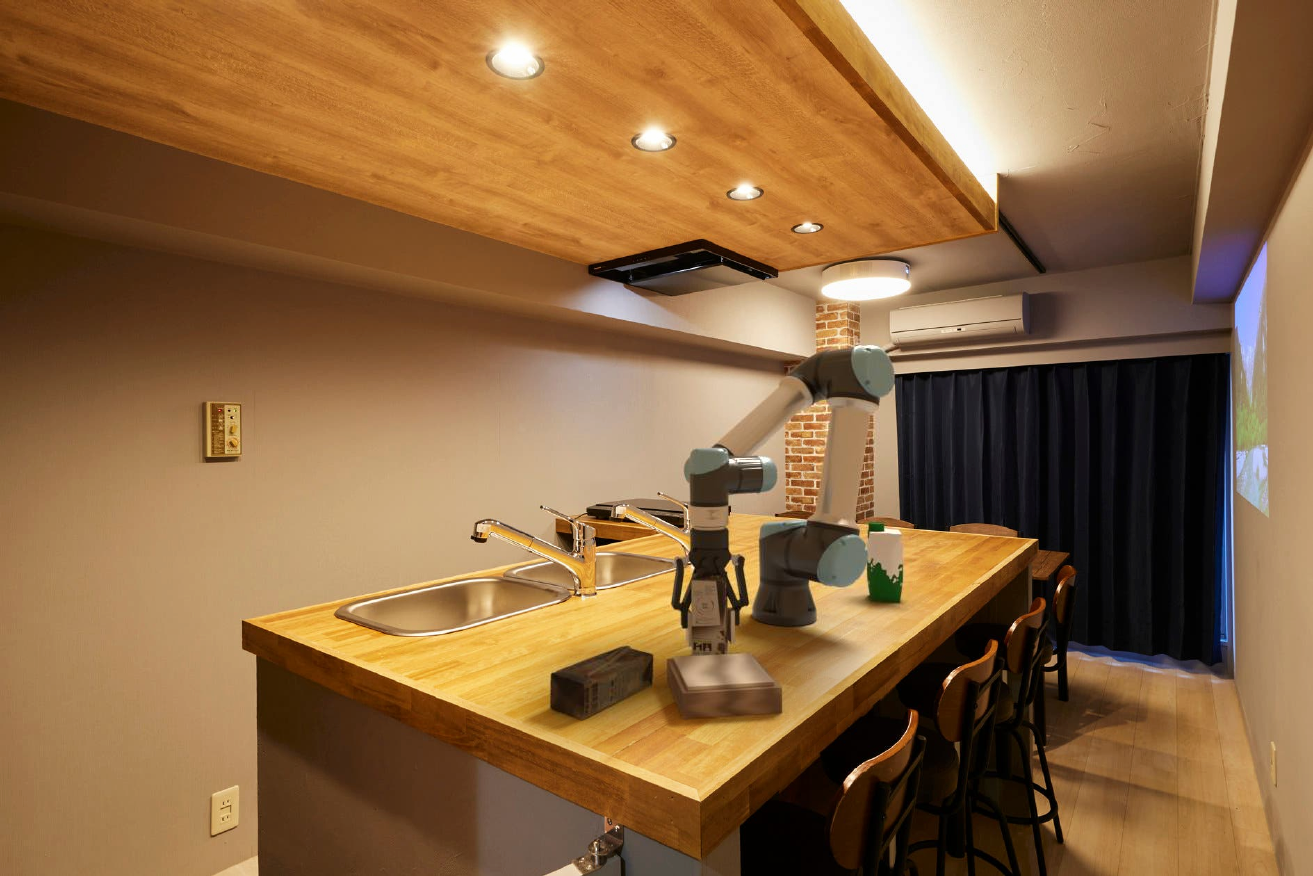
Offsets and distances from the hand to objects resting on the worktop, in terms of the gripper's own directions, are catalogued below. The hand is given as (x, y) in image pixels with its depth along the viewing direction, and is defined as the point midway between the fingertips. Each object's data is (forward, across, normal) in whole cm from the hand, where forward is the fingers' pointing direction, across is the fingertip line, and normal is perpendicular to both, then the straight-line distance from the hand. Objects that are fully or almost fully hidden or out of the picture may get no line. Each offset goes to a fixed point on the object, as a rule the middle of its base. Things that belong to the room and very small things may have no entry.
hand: (710, 643), depth 132 cm
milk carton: (+4, +56, +39) cm, 68 cm away
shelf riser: (+3, -2, -18) cm, 18 cm away
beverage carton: (+3, -22, -15) cm, 27 cm away
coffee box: (+3, 0, 0) cm, 3 cm away
